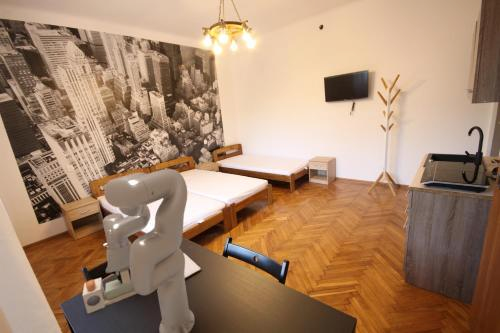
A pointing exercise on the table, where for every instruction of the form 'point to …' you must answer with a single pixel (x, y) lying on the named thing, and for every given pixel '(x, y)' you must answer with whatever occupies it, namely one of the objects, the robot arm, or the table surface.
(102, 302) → the cabinet
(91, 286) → the knob
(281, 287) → the table surface
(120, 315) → the table surface
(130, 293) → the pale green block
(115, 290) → the carriage
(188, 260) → the plate
